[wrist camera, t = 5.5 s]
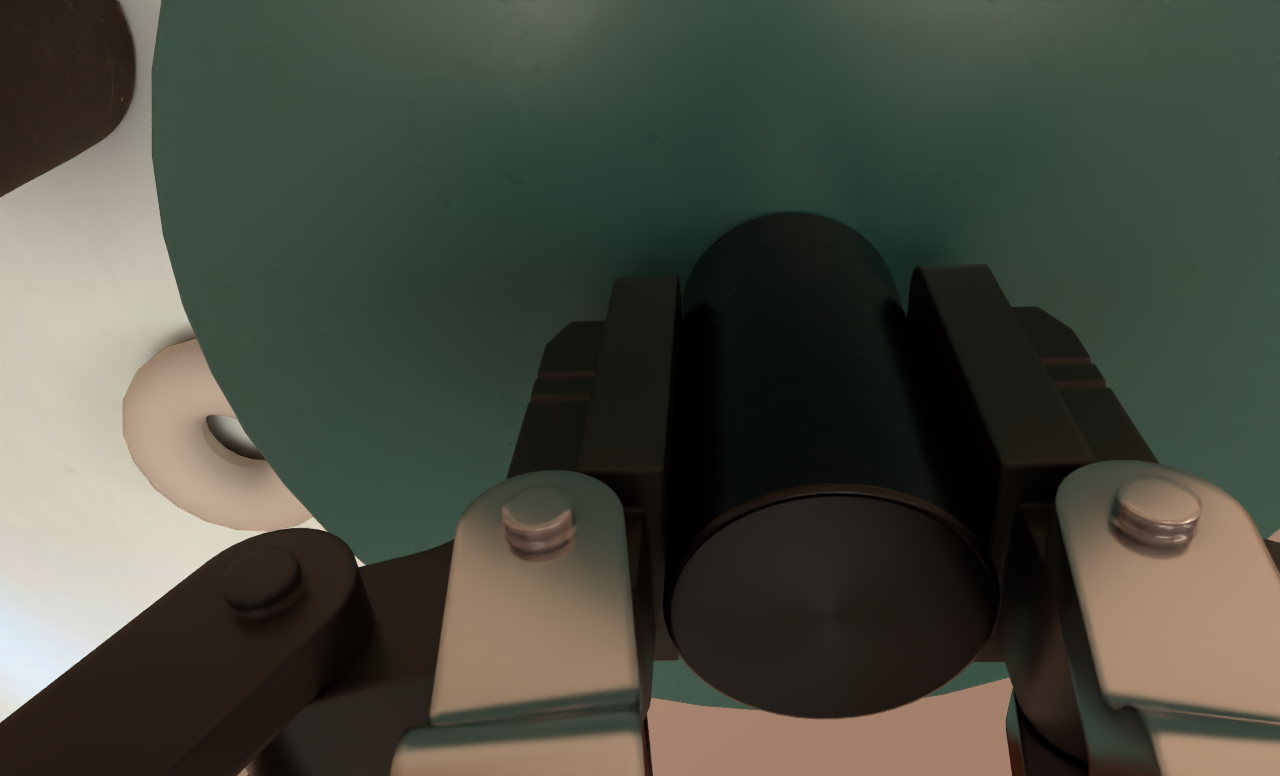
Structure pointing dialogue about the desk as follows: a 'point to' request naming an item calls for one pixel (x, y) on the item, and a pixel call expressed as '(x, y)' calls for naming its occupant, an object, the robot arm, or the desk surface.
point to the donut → (199, 447)
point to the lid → (726, 273)
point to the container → (59, 82)
